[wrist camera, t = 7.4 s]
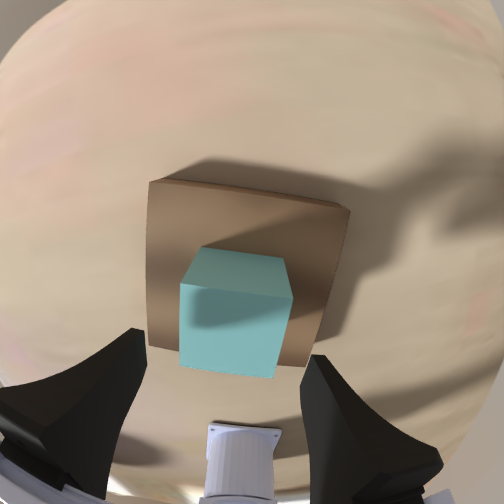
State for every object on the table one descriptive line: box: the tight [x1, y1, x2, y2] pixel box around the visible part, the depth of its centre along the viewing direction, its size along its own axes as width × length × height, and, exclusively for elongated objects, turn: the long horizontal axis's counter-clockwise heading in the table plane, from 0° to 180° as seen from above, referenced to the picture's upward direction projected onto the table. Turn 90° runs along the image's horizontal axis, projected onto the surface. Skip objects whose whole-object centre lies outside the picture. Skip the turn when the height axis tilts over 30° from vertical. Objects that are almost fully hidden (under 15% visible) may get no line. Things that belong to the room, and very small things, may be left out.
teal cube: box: [179, 247, 293, 378], centre depth 15 cm, size 5×5×5 cm
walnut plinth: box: [146, 178, 350, 367], centre depth 19 cm, size 12×12×2 cm
